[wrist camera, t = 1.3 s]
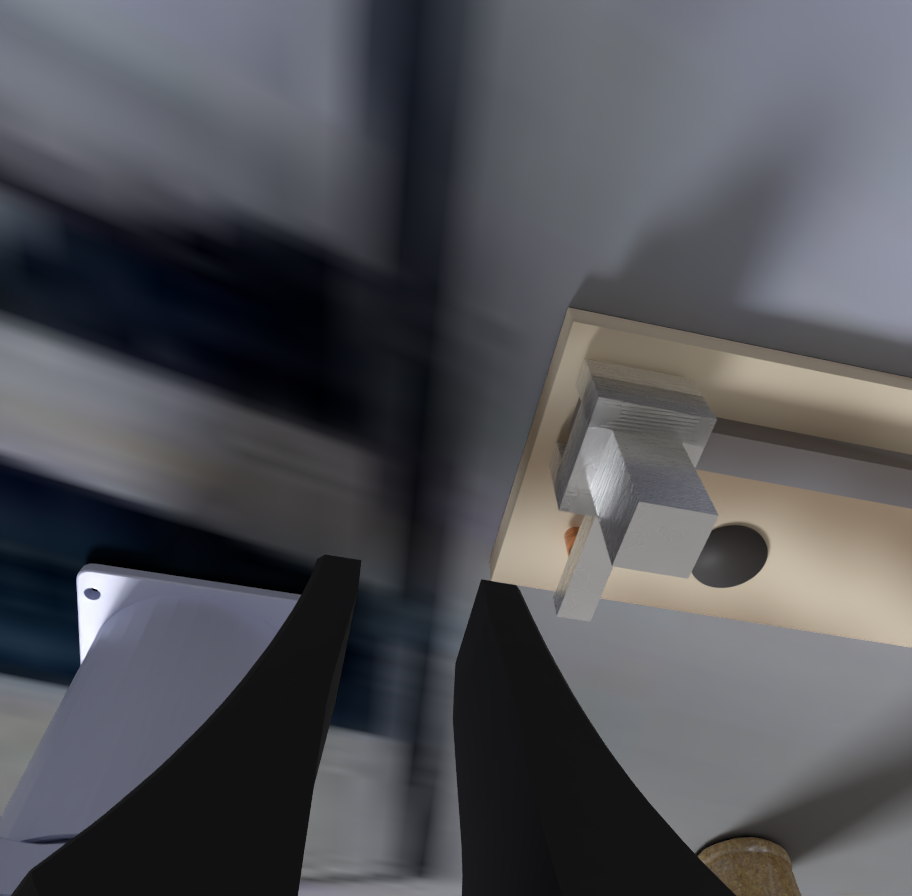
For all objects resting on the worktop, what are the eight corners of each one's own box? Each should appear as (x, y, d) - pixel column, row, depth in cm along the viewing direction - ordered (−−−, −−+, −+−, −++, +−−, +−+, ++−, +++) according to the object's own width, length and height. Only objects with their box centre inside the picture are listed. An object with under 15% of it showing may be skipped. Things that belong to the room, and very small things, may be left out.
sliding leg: (609, 575, 24) (646, 711, 20) (516, 561, 24) (533, 695, 19) (692, 378, 21) (760, 490, 16) (584, 357, 20) (624, 465, 16)
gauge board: (1027, 647, 28) (1065, 691, 26) (489, 560, 25) (492, 602, 24) (1203, 438, 23) (1263, 474, 22) (567, 307, 21) (579, 336, 19)
